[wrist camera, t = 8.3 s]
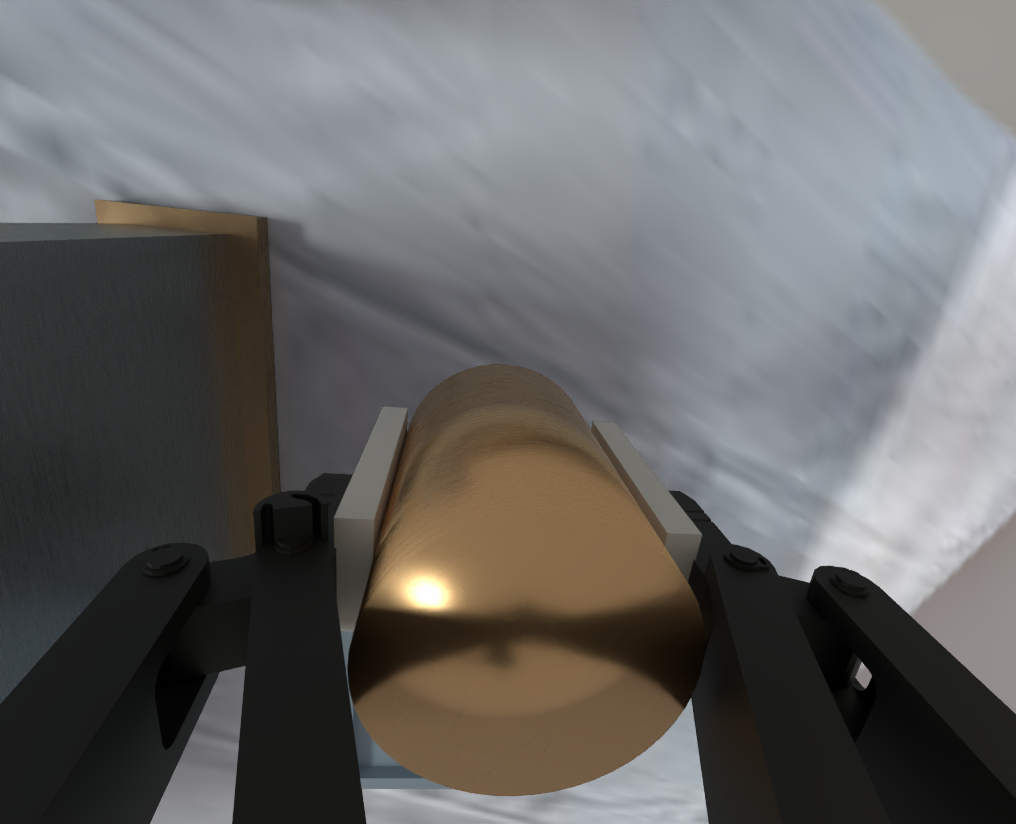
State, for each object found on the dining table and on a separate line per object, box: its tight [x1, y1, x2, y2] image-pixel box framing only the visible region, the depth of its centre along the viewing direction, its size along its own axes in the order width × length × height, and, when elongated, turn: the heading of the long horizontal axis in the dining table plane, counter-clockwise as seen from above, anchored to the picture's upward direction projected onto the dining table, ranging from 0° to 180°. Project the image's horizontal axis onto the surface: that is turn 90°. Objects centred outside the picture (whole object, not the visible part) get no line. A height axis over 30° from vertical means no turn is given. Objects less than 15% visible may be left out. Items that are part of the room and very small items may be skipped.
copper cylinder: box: [347, 364, 705, 796], centre depth 13 cm, size 6×6×9 cm
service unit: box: [0, 200, 281, 704], centre depth 23 cm, size 24×8×20 cm, turn 174°
